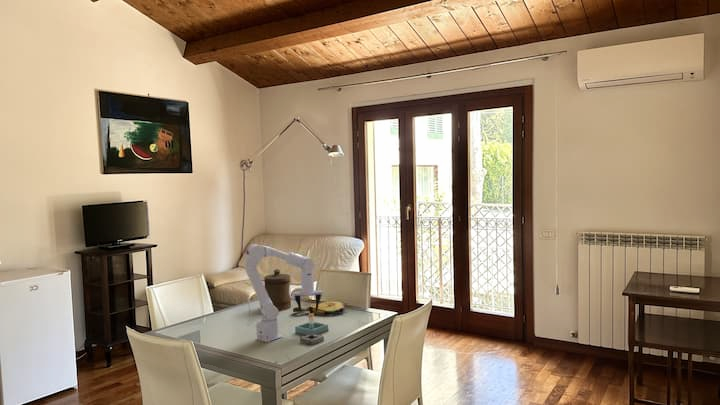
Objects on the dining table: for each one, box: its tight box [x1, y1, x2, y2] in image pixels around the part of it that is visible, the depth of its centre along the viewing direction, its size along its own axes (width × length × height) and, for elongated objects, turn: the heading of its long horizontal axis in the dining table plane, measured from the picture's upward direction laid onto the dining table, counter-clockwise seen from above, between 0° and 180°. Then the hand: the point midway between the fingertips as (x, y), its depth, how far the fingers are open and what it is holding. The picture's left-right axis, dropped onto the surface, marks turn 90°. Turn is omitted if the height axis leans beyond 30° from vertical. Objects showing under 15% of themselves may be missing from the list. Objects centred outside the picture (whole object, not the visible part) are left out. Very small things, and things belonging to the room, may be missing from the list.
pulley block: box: [292, 301, 349, 317], centre depth 266 cm, size 14×6×30 cm
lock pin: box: [308, 312, 315, 330], centre depth 233 cm, size 3×3×8 cm
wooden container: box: [263, 268, 292, 312], centre depth 280 cm, size 15×15×22 cm
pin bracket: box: [299, 334, 325, 346], centre depth 219 cm, size 8×8×2 cm
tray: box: [294, 321, 329, 336], centre depth 233 cm, size 11×11×3 cm
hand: (308, 310), depth 233 cm, fingers open, 7 cm apart
